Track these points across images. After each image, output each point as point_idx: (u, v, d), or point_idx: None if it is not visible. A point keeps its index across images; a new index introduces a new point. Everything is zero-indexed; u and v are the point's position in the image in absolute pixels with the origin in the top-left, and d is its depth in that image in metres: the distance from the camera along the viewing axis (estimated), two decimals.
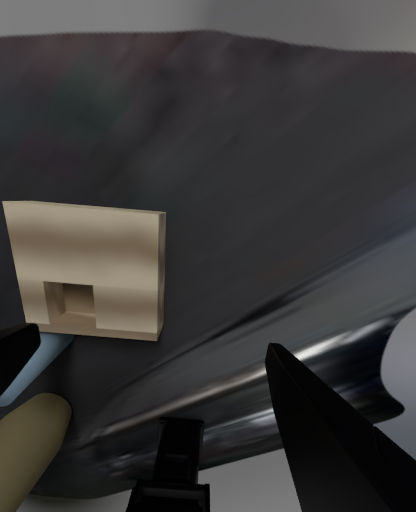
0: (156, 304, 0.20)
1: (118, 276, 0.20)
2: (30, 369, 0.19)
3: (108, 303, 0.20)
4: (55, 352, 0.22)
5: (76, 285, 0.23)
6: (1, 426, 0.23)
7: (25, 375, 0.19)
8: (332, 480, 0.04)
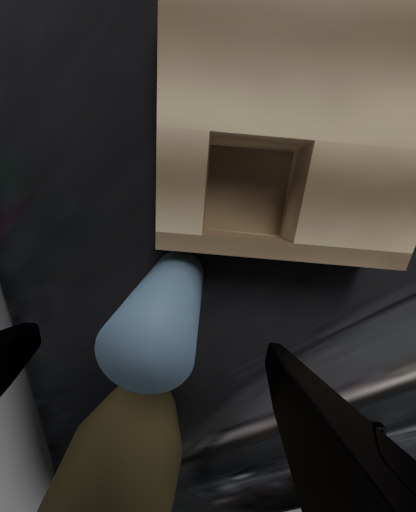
0: None
1: (378, 117, 0.09)
2: (196, 313, 0.09)
3: (333, 186, 0.10)
4: (201, 295, 0.12)
5: (233, 173, 0.12)
6: (92, 435, 0.12)
7: (196, 323, 0.08)
8: (332, 480, 0.04)
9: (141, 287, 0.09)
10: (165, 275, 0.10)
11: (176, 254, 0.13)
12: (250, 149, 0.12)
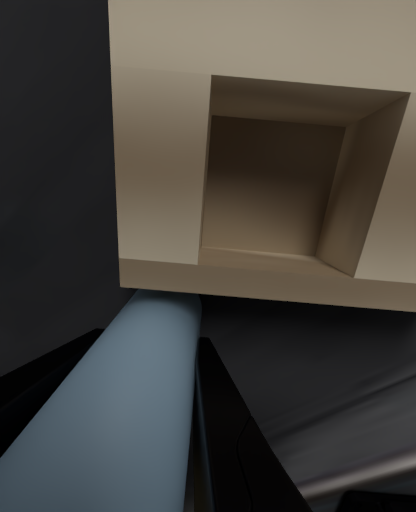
0: None
1: None
2: (183, 440, 0.04)
3: None
4: None
5: (248, 162, 0.08)
6: None
7: (181, 481, 0.04)
8: (201, 469, 0.04)
9: (69, 387, 0.04)
10: (127, 348, 0.05)
11: None
12: (276, 122, 0.07)
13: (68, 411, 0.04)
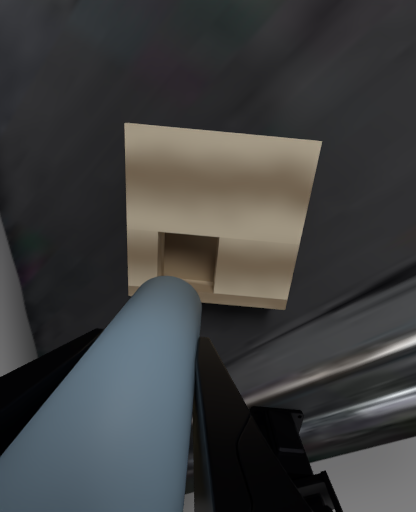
0: (294, 262, 0.17)
1: (254, 226, 0.16)
2: (183, 439, 0.04)
3: (233, 261, 0.17)
4: None
5: (181, 244, 0.19)
6: None
7: (181, 481, 0.04)
8: (201, 469, 0.04)
9: (69, 386, 0.04)
10: (128, 346, 0.05)
11: (160, 285, 0.09)
12: None
13: (68, 410, 0.04)
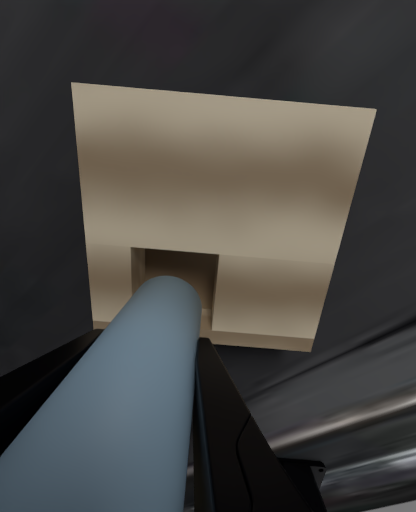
0: (325, 289, 0.12)
1: (269, 238, 0.11)
2: (183, 440, 0.04)
3: (240, 287, 0.12)
4: None
5: (167, 260, 0.14)
6: None
7: (181, 481, 0.04)
8: (201, 470, 0.04)
9: (68, 387, 0.04)
10: (127, 347, 0.05)
11: (160, 285, 0.09)
12: None
13: (67, 410, 0.04)
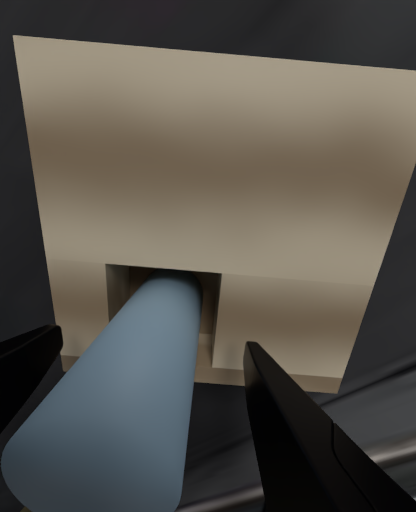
0: (360, 317, 0.09)
1: (288, 252, 0.08)
2: (189, 380, 0.06)
3: (248, 315, 0.09)
4: None
5: None
6: None
7: (187, 403, 0.05)
8: (289, 476, 0.04)
9: (103, 338, 0.06)
10: (145, 314, 0.06)
11: (167, 273, 0.10)
12: None
13: (106, 350, 0.05)
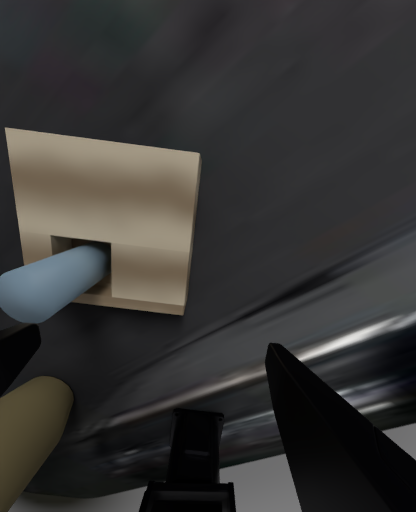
0: (186, 269, 0.17)
1: (143, 233, 0.16)
2: (73, 279, 0.14)
3: (127, 266, 0.17)
4: (98, 273, 0.17)
5: None
6: None
7: (68, 284, 0.13)
8: (332, 480, 0.04)
9: None
10: (60, 255, 0.14)
11: (89, 243, 0.18)
12: None
13: (36, 262, 0.13)
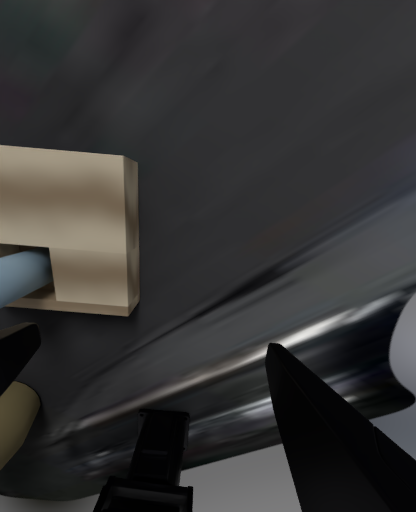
0: (125, 271, 0.17)
1: (79, 236, 0.16)
2: None
3: (68, 270, 0.17)
4: (38, 277, 0.17)
5: None
6: None
7: None
8: (332, 480, 0.04)
9: None
10: None
11: (33, 249, 0.18)
12: None
13: None
